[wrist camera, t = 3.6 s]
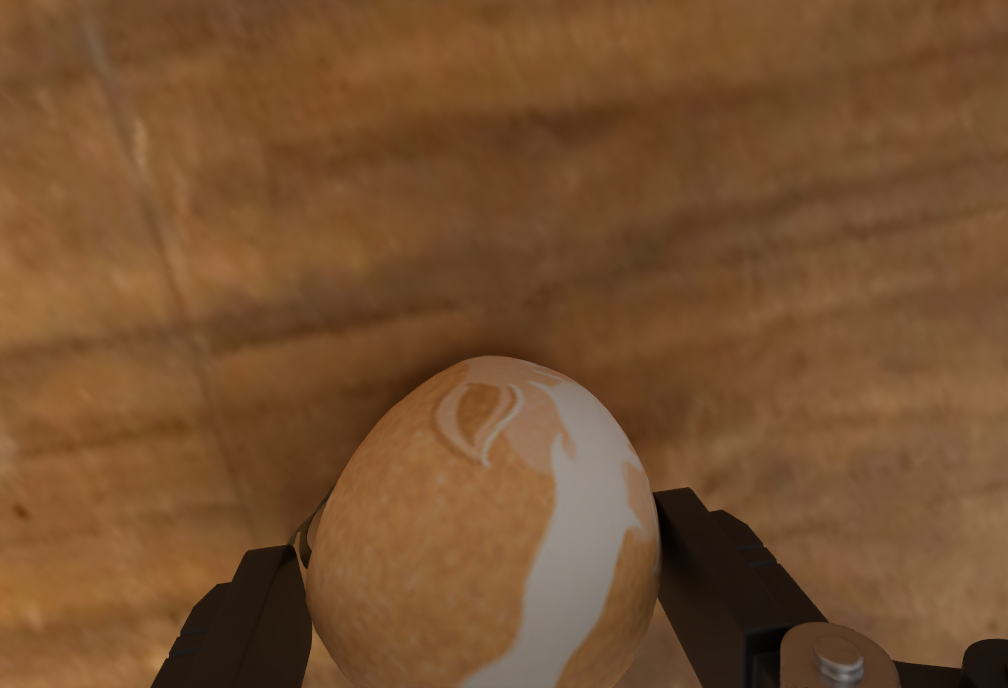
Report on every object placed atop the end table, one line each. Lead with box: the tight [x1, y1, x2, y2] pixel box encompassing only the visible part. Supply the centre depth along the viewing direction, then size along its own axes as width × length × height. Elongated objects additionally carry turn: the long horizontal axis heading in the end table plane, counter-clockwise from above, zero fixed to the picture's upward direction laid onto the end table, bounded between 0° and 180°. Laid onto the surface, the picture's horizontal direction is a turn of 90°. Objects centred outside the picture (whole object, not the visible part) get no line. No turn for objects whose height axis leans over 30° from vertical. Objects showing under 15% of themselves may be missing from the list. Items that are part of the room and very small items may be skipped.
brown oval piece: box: [287, 356, 663, 688], centre depth 12 cm, size 6×7×8 cm
